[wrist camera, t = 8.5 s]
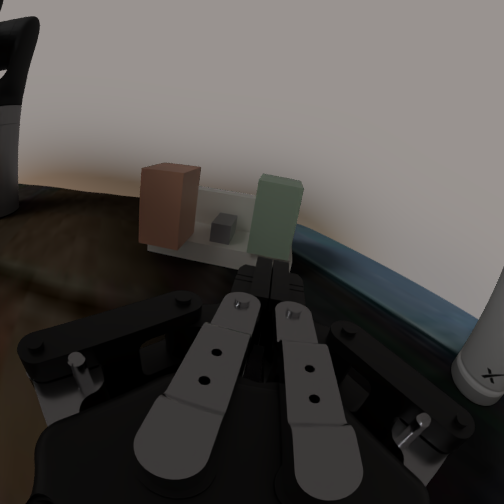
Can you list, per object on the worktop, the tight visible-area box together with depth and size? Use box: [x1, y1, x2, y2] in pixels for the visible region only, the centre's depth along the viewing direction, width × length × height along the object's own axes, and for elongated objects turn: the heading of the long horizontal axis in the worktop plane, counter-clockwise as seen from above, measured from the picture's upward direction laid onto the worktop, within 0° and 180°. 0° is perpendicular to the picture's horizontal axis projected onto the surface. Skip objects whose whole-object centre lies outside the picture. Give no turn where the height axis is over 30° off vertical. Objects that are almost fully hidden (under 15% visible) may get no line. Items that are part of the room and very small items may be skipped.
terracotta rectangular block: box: [139, 163, 201, 251], centre depth 26 cm, size 4×5×7 cm
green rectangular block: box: [246, 174, 304, 261], centre depth 27 cm, size 4×5×7 cm
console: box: [147, 186, 292, 273], centre depth 31 cm, size 15×8×6 cm, turn 83°
